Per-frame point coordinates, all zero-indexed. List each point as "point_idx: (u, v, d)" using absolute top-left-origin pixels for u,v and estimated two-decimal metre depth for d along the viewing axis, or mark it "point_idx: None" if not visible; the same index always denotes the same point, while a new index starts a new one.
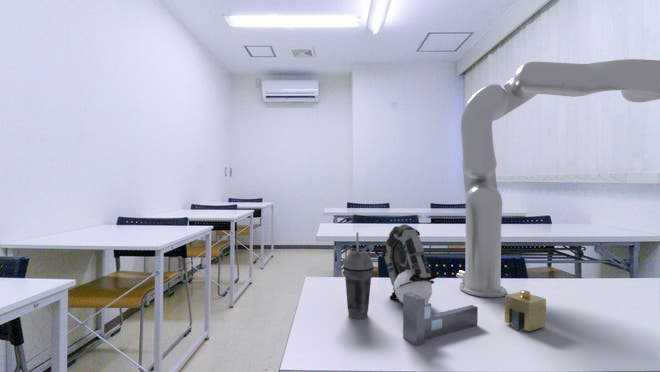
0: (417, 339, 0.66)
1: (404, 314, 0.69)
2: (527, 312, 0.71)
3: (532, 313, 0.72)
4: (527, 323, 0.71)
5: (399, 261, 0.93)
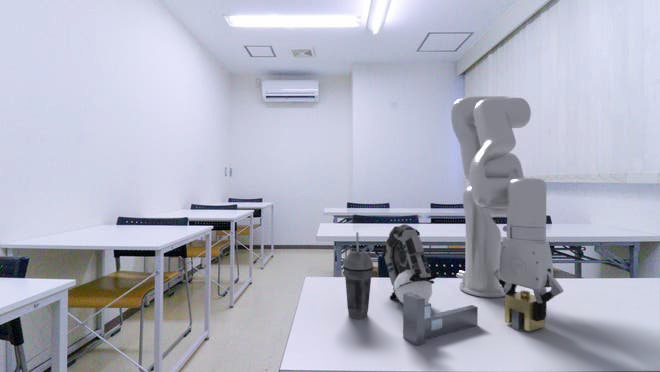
0: (417, 339, 0.66)
1: (404, 314, 0.69)
2: (527, 312, 0.71)
3: (532, 313, 0.72)
4: (527, 323, 0.71)
5: (399, 261, 0.93)
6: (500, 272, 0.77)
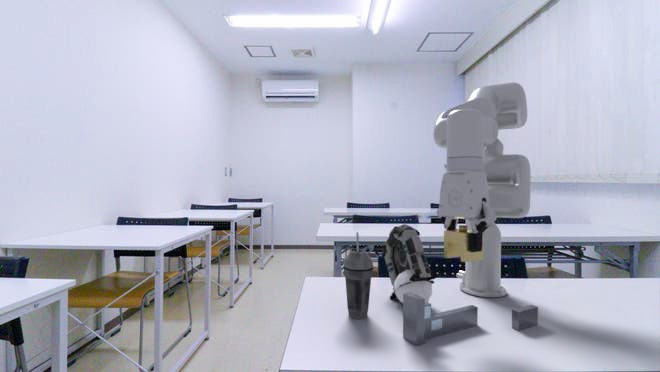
0: (417, 339, 0.66)
1: (404, 314, 0.69)
2: (463, 243, 0.70)
3: (468, 244, 0.71)
4: (463, 254, 0.70)
5: (399, 261, 0.93)
6: (440, 208, 0.76)
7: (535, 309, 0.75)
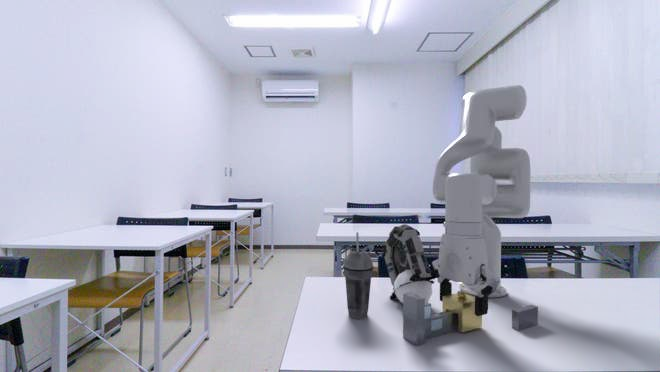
0: (417, 339, 0.66)
1: (404, 314, 0.69)
2: (461, 313, 0.71)
3: (466, 314, 0.71)
4: (461, 324, 0.71)
5: (399, 261, 0.93)
6: (439, 268, 0.77)
7: (535, 309, 0.75)
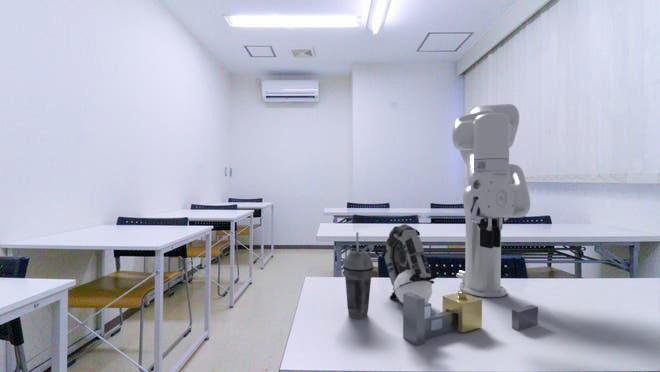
0: (417, 339, 0.66)
1: (404, 314, 0.69)
2: (461, 313, 0.71)
3: (466, 314, 0.71)
4: (461, 324, 0.71)
5: (399, 261, 0.93)
6: (488, 209, 0.74)
7: (535, 309, 0.75)
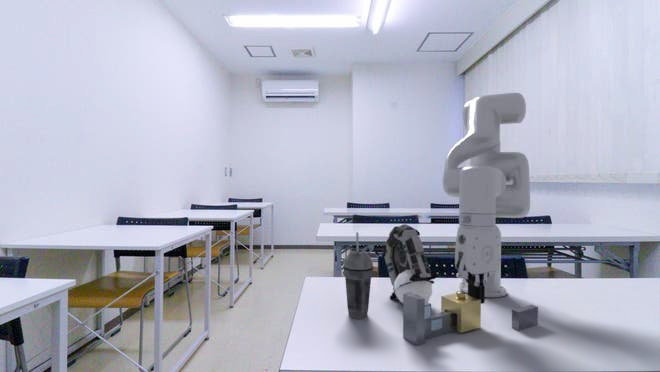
0: (417, 339, 0.66)
1: (404, 314, 0.69)
2: (460, 313, 0.70)
3: (464, 314, 0.71)
4: (460, 325, 0.70)
5: (399, 261, 0.93)
6: (474, 266, 0.72)
7: (535, 309, 0.75)
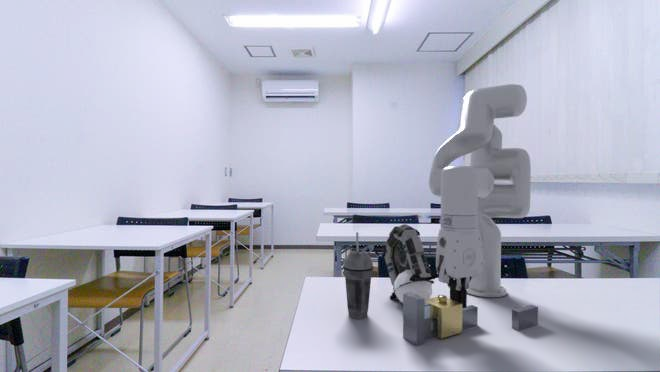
0: (417, 339, 0.66)
1: (404, 314, 0.69)
2: (440, 318, 0.68)
3: (445, 319, 0.68)
4: (440, 330, 0.68)
5: (399, 261, 0.93)
6: (454, 270, 0.69)
7: (535, 309, 0.75)
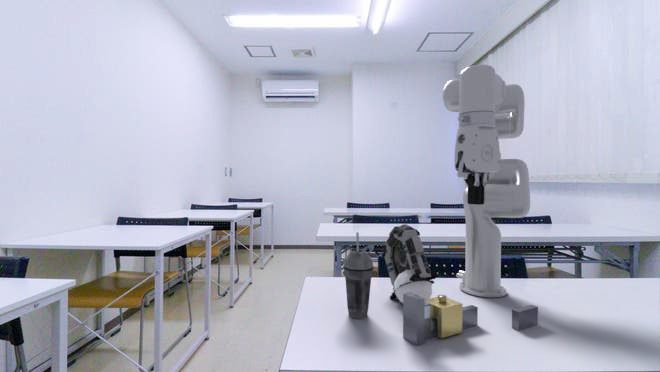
0: (417, 339, 0.66)
1: (404, 314, 0.69)
2: (440, 318, 0.68)
3: (445, 319, 0.68)
4: (440, 330, 0.68)
5: (399, 261, 0.93)
6: (473, 162, 0.71)
7: (535, 309, 0.75)
